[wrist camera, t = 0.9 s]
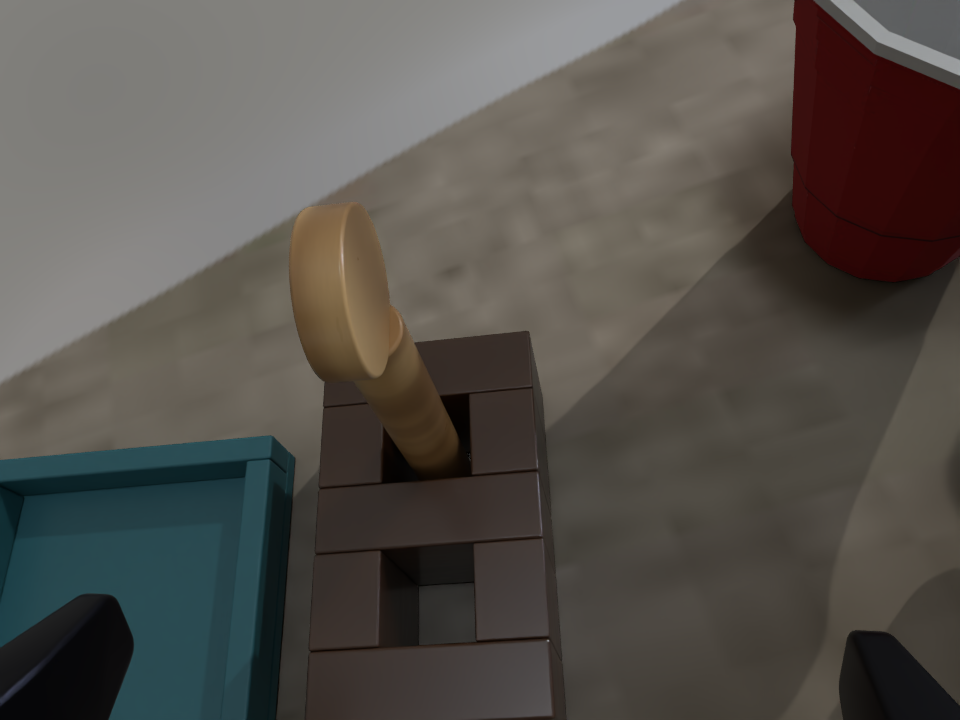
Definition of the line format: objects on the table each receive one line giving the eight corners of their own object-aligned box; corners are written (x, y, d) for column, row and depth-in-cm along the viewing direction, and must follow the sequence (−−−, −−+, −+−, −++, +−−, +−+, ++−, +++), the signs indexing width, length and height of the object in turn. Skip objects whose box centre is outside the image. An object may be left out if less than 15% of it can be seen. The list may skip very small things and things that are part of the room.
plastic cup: (926, 422, 25) (1149, 161, 14) (659, 227, 30) (680, -79, 19) (1131, 206, 27) (1456, -157, 17) (853, 56, 32) (968, -303, 21)
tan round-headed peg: (482, 538, 25) (356, 322, 13) (431, 543, 26) (262, 332, 14) (478, 437, 27) (363, 161, 15) (431, 441, 27) (279, 171, 15)
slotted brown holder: (567, 730, 23) (555, 719, 19) (356, 739, 23) (302, 730, 19) (542, 395, 27) (528, 329, 23) (367, 411, 28) (325, 350, 24)
